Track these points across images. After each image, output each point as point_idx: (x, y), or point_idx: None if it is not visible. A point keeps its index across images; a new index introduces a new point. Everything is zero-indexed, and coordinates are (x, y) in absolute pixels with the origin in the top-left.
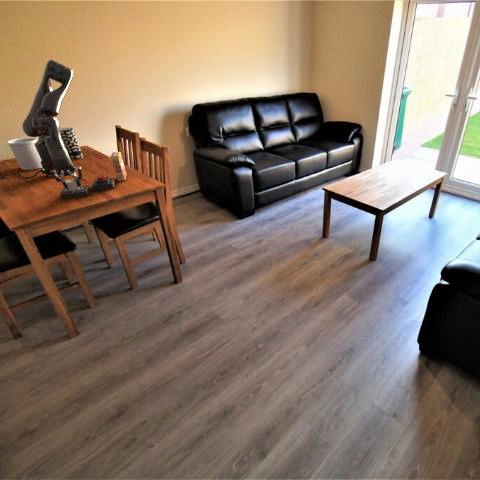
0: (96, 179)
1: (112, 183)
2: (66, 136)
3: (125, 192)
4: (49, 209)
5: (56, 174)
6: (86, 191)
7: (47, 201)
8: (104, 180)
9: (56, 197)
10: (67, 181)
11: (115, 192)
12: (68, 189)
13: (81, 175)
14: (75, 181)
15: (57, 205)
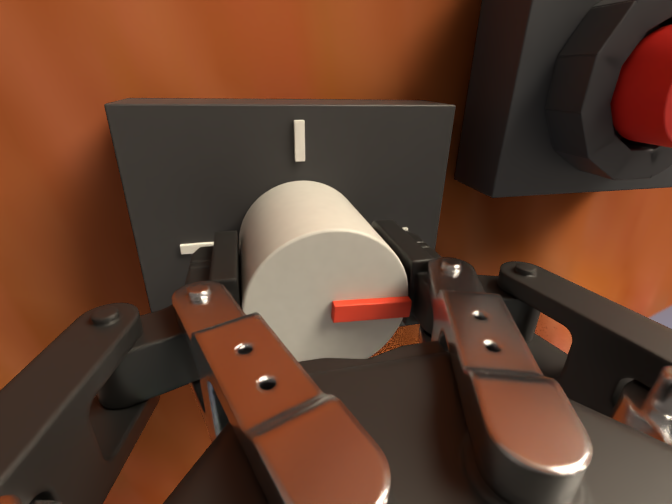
0: (610, 78)
1: (669, 179)
2: None
3: (640, 295)
4: (134, 475)
5: (44, 441)
6: None
7: (7, 315)
8: (663, 168)
9: (66, 223)
10: (279, 326)
11: (591, 273)
12: (220, 208)
13: (562, 361)
14: (395, 322)
15: (174, 420)
